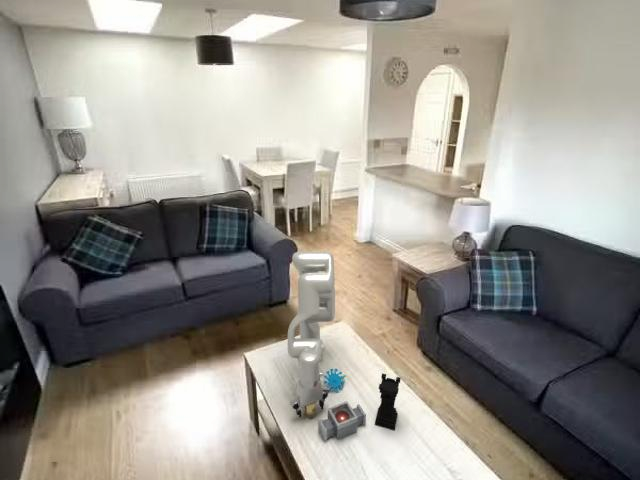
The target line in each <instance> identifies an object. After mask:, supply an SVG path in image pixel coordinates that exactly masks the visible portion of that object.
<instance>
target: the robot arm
mask: <svg viewBox="0 0 640 480" xmlns="http://www.w3.org/2000/svg"><path fill="white" fill-rule="evenodd" d="M291 259H292V265H293V266H294V268H295V269H296V270H297V272H298V275H299V277H298V279H297V280H298V281H297V298H298V301H297V302H298V303H297V304H298V305H297V314H296V315H295V316H294V318H292V321H291V322H290V324H289V326H288V331H287V353H288V355H289V357H290V358H293V359H297V360H298V361H299V380H298V382H297V385H296V393H295V397H294V398H292V399H291V400H290V401H289V402H288V403H289V406H290V407H291V408H292V409H294V410H295V412H296V416H298V418H300V419H301V418H302V408H303V407H304V406H306V405H309V404H312V403H315V402H316V403H317V402H318V405H319V408H320V409H321V410H324V406H325V402H326V399H327V398H328V397H329V394H330V392H331V391H330V390H331V389H330V388H327V387H323V385H322V380H321V377H323V372H320V363H321V362H322V361H323V359H324V349H325V346H324V345H325V344H324V341H323V340H322V339H321V328H320V324H319V323H328V322H329V323H330V322H332V321H334V319H335V316H336V288H335V284H336V283H335V281H336V279H335V259H334V255H333V253H332V252H330V251H311V250H310V251H308V250H307V251H296V252H294V253H293V254H292V257H291ZM298 326H299V335H300V336H299V338H295V332H296V330H297V327H298Z"/></svg>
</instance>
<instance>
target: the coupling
mask: <svg viewBox="0 0 640 480" xmlns="http://www.w3.org/2000/svg"><path fill="white" fill-rule="evenodd" d="M303 412H304V413H303V414H304V417H305V419H307V420H314V419H315V418H316V417H317V402H315V403H312V404H309V405H306V406H303Z"/></svg>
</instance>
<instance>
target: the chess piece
mask: <svg viewBox="0 0 640 480" xmlns="http://www.w3.org/2000/svg"><path fill="white" fill-rule="evenodd" d="M380 379H381V382H380V383H379V384H378V390H379V393H380V396H379V397H380V404H379V406H378V408H377V412H376V416H375V420H374V426H376V427H379V428H380V427H381V428H384V429H387V430H391V431H396V427H397V426H396V425H397V421H398V414H399V413H398V410H397V408H396V407H395V405H396V403H395V402H396V399H397V397H398V394H399V390H400V388H399V384H400V383H401V377H399V376H396V379H394V378H391V377H387V374H386V373H381V378H380Z"/></svg>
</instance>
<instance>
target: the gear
mask: <svg viewBox="0 0 640 480" xmlns="http://www.w3.org/2000/svg"><path fill="white" fill-rule="evenodd" d="M333 371H334V372H333ZM325 372H326V374H327V375H326V374H325V375H324V376H323V378H324V379H326V380H324V381H323V382H324V383H323V384H324V385H326V387H325V388H329V389H330V388H331V387H332V388H331V389H330V392H332V393H334V392H336V393H337V392H339V390H342V389H343V386H344V385H345V381H343V380H345V378H346V377H347V375H346V374H343V372H342V371H339V368H337V367H336V368H332V367H331V368H330V369H329V370H327V371H325ZM337 372H338V373H337ZM340 375H341V376H340ZM327 384H329V385H327Z"/></svg>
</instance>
